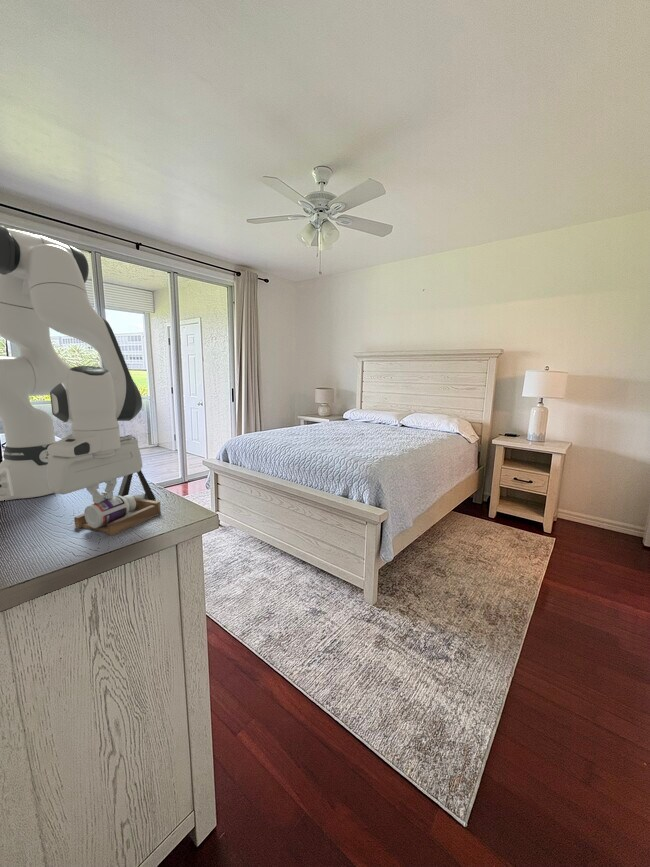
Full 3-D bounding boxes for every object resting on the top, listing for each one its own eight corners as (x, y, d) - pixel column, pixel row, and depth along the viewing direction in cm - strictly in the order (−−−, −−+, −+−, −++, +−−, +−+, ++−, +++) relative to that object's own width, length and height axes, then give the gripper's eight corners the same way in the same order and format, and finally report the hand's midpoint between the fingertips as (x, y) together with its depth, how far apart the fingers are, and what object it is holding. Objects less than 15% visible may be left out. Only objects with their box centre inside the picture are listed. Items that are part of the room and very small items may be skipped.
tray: (75, 527, 81) (73, 515, 81) (126, 507, 94) (125, 496, 93) (112, 535, 77) (110, 522, 77) (160, 513, 90) (159, 501, 90)
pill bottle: (87, 529, 80) (126, 513, 89) (102, 527, 78) (140, 512, 87) (80, 506, 80) (120, 493, 88) (95, 504, 77) (134, 490, 86)
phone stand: (118, 506, 94) (114, 462, 92) (116, 499, 99) (113, 457, 97) (155, 499, 99) (152, 458, 97) (152, 493, 104) (149, 453, 102)
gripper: (126, 432, 89) (131, 485, 92) (38, 448, 70) (46, 515, 73) (146, 434, 87) (150, 488, 90) (60, 451, 68) (68, 519, 71)
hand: (103, 500), depth 81 cm, fingers closed
